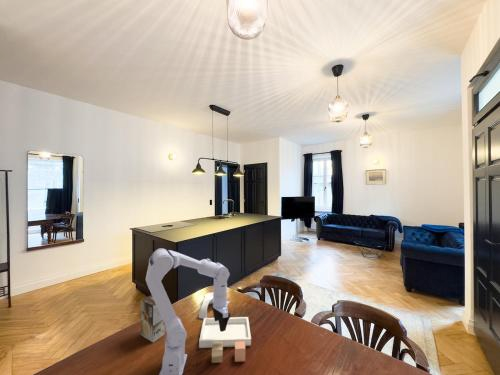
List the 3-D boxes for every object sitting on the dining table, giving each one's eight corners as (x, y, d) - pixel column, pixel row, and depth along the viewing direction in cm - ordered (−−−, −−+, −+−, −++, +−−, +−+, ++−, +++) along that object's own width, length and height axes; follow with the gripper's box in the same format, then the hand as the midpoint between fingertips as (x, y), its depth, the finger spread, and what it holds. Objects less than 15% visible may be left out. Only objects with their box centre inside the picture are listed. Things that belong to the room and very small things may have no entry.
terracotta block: (245, 361, 84) (245, 348, 84) (234, 361, 84) (235, 348, 84) (244, 353, 88) (244, 341, 88) (234, 353, 88) (235, 341, 88)
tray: (250, 346, 92) (251, 338, 92) (198, 347, 90) (199, 340, 90) (247, 322, 108) (248, 317, 108) (203, 324, 106) (204, 318, 106)
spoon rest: (208, 296, 135) (209, 284, 135) (226, 298, 133) (227, 286, 133) (192, 318, 111) (192, 304, 111) (213, 321, 109) (214, 307, 109)
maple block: (222, 362, 83) (222, 349, 83) (211, 362, 83) (211, 349, 83) (222, 354, 87) (222, 342, 87) (212, 354, 87) (212, 342, 87)
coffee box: (165, 334, 98) (165, 299, 98) (152, 343, 92) (153, 306, 92) (152, 327, 102) (152, 294, 102) (139, 335, 97) (140, 300, 97)
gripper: (235, 299, 87) (235, 332, 87) (223, 284, 100) (223, 313, 100) (218, 303, 84) (218, 338, 84) (208, 287, 97) (208, 317, 97)
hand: (219, 325), depth 91 cm, fingers open, 7 cm apart
